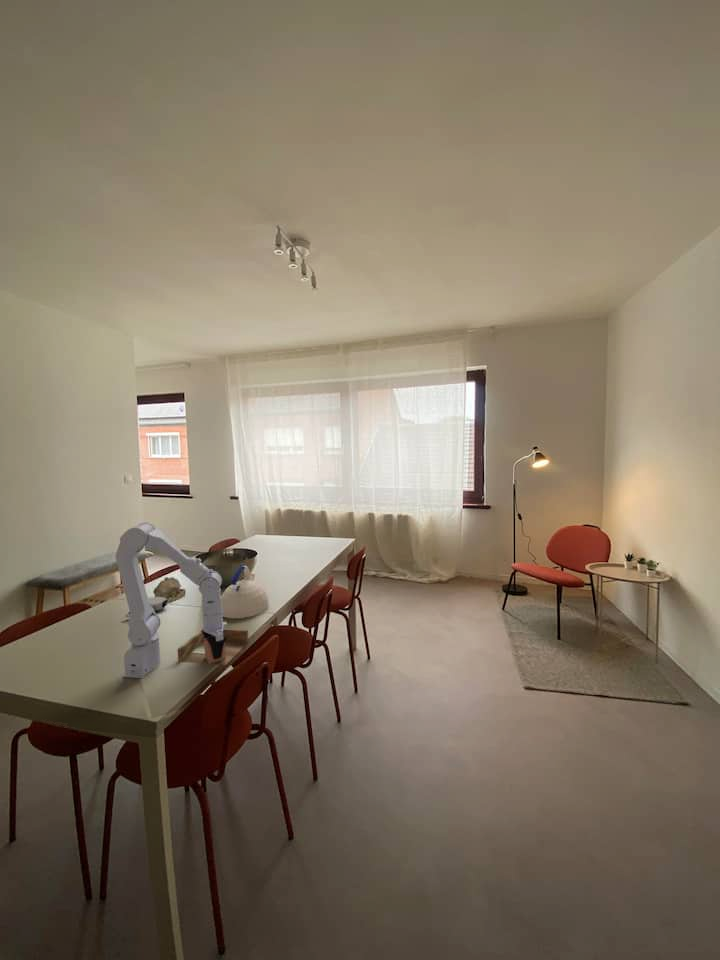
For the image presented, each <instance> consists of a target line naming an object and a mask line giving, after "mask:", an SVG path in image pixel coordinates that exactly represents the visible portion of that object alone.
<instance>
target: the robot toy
mask: <svg viewBox="0 0 720 960" xmlns="http://www.w3.org/2000/svg"><path fill="white" fill-rule="evenodd" d="M170 599H171V598H170ZM170 599H169V601H170ZM148 601H149V605H150V606H151V607H153V608H154V611H155V612H156V611H161V610H162V609H164V608H166V607H167V605H168V604H169V603H168V602H169V601H167V599H166V598H164V597H155V596H153V597H152V596H151V597H148ZM125 617H126V618H129V617H130V611H129V612H128V613H126V614H125Z"/></svg>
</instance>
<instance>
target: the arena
mask: <svg viewBox="0 0 720 960" xmlns="http://www.w3.org/2000/svg"><path fill="white" fill-rule="evenodd" d="M201 630H203V628H202V629H201ZM201 630H200V631H198V632H196V634H195V635H194V636H192V637H191V638H189V639H188V640H187V641H186V642H184V643H182V645H180V646H179V647H178V648H177V661H178V663H180V662H181V663H193V664H203V665H204V664H205V665H207V664H208V665H220V666H227V665H228V664H229V662H230V661H232V660H233V658H234V657H235V656H236V655H237V654H238V653H239V652H240V651H241V650H242V649H243V648H245V646H246V645H247V644H248V643H249V629H242V628H241V629H239V628H238V629H237V628H224V629H223V635H224V634H226V635H227V639H226V641H225V654H226V659H223V660H220V661H216V662H213V663H210V664H209V663H208V661H207V659H206V658H205V647H204V638H205V637H204V635H203V633H202V632H201Z"/></svg>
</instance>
